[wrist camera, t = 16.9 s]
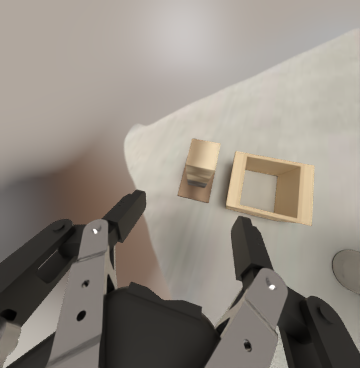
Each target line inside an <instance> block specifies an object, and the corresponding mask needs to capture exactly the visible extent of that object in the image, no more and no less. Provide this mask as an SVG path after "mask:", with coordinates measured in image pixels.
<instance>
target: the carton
mask: <svg viewBox="0 0 360 368" xmlns="http://www.w3.org/2000/svg"><path fill="white" fill-rule="evenodd" d="M245 170H250V171H255V172H260V173H265V174H270V175H275V176H278V178H277V187H276V197H275V206H274V213H272V212H268V211H263V210H259V209H255V208H251V207H247V206H242V205H239V204H240V198H241V192H242V185H243V179H244V173H245ZM313 186H314V166H313V165H308V164H302V163H297V162H291V161H286V160H280V159H275V158H270V157H264V156H259V155H253V154H248V153H243V152H237V151H236V152H235V157H234V162H233V168H232V173H231V179H230V184H229V190H228V195H227V201H226V209H230V210H234V211H238V212H242V213H246V214H251V215H255V216H259V217H263V218H267V219H271V220H275V221H283V222H293V223H301V224H305V225H309V226H312V207H313Z"/></svg>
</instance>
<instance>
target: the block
mask: <svg viewBox="0 0 360 368" xmlns="http://www.w3.org/2000/svg"><path fill="white" fill-rule="evenodd" d="M219 149H220V143H214V142H209V141H203V140H197V139H192V142H191V146H190V149H189V153H188V157H187V161H186V172H187V182H188V185H193V186H197V187H201V188H205V187H206V185H207V183H208V182H209V180H210V178H211V177H212V175H213V173H214V172H215V168H216V164H217V159H218V154H219Z"/></svg>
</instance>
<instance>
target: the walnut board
mask: <svg viewBox="0 0 360 368" xmlns="http://www.w3.org/2000/svg"><path fill="white" fill-rule="evenodd" d="M215 169H216V168H215ZM214 174H215V172H214V173H213V175H212V177H211V178H210V180H209V182H208V183H207V185H206V187H205V188H201V187H197V186H193V185H188V182H187V172H186V165H185V168H184V172H183V176H182V180H181V184H180V188H179V192H178V196H181V197H185V198H190V199H194V200H198V201H202V202H206V203H209V198H210V193H211V188H212V183H213V178H214Z"/></svg>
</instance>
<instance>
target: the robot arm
mask: <svg viewBox="0 0 360 368" xmlns="http://www.w3.org/2000/svg"><path fill="white" fill-rule="evenodd" d="M145 208H146V193H145V191H141V190H135V191H134V192H133V193H132V194H128V195H126V196H124V197H123V198H122V199H121V200H120V201H119V202H118V203H117V204H116V205H115V206H114V207H113V208H112V209H111V210H110V211H109V212H108V213H107V214H106V215H105V216H104V217H103V218H102V219H99V220H94V221H92V222H90V223H89V224H87V225H74V224H73V223H72V221H71V220H69V219H62V220H59V221H55V222H53V223H52V224H50V225H49V226H47V227H46V228H45V229H43V230H42V231H41V232H40V233H39V234H37V235H36V236H34V237H33V238H32V239H31V240H29V241H28V242H27V243H25V244H24V245H23V246H22V247H20V248H19V249H18V250H17V251H15V252H14V253H13V254H11V255H10V256H9V257H8V258H6V259H5V260H4V261H2V262H1V263H0V368H2V367H3V364H4V362H5V360H6V358H7V356H8V355H10V354H11V353H12V352H13V351H14V349H15V348H16V346H17V344H18V339H19V336H20V333H21V327H22V326H23V324H24V323H25V322H26V321H27V320H28V318H29V317H30V316H31V315H32V313H33V312H34V311H35V310H36V308H37V307H38V306H39V305H40V304H41V303H42V301H43V300H44V299H45V298H46V297H47V295H48V294H49V293H50V292H51V291H52V289H53V288H54V287H55V286H56V284H57V283H58V282H59V281H60V280H61V278H62V277H63V276H64V275H65V274H66V272H67V271H68V270H69V269H70V273H69V277H68V281H67V286H66V290H65V294H64V299H63V304H62V307H61V312H60V316H59V321H58V325H57V329H56V331H55V332H54V333H53V334H51V335H50V336H48V337H47V338H46V339H44V340H43V341H42V342H40V343H39V344H38V345H36V346H35V347H34V348H32V349H31V350H29V351H28V352H27V353H25V354H24V355H22V356H21V357H20V358H18V359H17V360H16V361H14V362H13V363H12V364H10V365H9V366H7V367H6V368H269V367H270V364H271V361H272V358H273V355H274V352H275V349H276V346H277V343H278V334H277V333H276V331H275V329H276V325H277V326H279V330H280V335H281V339H282V343H283V347H284V351H285V355H286V360H287V364H288V368H360V353H359V351H358V349H357V347H356V345H355V344H354V342H353V340H352V338H351V336H350V334H349V333H348V331H347V329H346V327H345V325H344V323H343V322H342V320H341V318H340V317H339V315H338V314H337V313H336V312H335V310H334V309H333V308H332V307H331V306H330V305H329V304H327V303H326V302H325V301H323V300H322V299H320V298H318V297H315V296H310V297H308V298H305V297H303V296H302V295H300V294H299V293H297V292H295V291H294V290H292V289H290V288H289V287H287V286H286V284H285V282H284V281H283V279H282V278H281V277H280V276H279V275H278V274H277V273H276V272H274V270H273V267H272V264H271V261H270V258H269V256H268V253H267V250H266V247H265V244H264V241H263V238H262V235H261V233H260V232H259V230H258V229H257V228H256V227H255V226H252V223H251V219H250V218H247V217H243V216H238V218H237V220H236V222H235V223H234V225H233V227H232V230H231V240H232V248H233V257H234V266H235V274H236V280H239V281H242V284H243V287H242V288H241V290H240V291H239V293H238V294H237V296H236V297H235V299H234V300H233V302H232V303H231V305H230V306H229V308H228V309H227V311H226V312H225V314H224V315H223V316H222V317H221V318H220V320H219V321H218V323H217V324H216V326H215V327H214V326H213V324H212V323H211V322H210V320H209V319H208V318H207V317H206V316H205V315H204V314H203V313H201V311H202V307H201V306H198V305H195V304H192V303H189V302H187V301H184V300H163V299H161V298H160V297H159V296H157V295H156V294H155V293H154V292H152V291H151V290H150V289H149V288H147V287H145V286H141V285H139V284H136V283H133V282H131V283H130V285H129V286H126V287H121V288H118V289H117V278H116V272H115V271H116V270H115V245H116V243H117V242H121V243H123V242H124V240H125V239H126V237H127V236H128V234H129V233H130V231H131V230H132V228H133V227H134V225H135V224H136V222H137V221H138V219H139V218H140V216H141V215H142V213H143V212H144V210H145ZM56 250H57V251H56ZM55 251H56V252H55ZM54 252H55V253H54ZM53 253H54V254H53ZM51 254H53V255H52V256H51ZM50 256H51V257H50ZM49 257H50V258H49ZM48 258H49V259H48ZM47 259H48V260H47ZM46 260H47V261H46ZM76 260H77V261H76ZM45 261H46V262H45ZM44 262H45V263H44ZM43 263H44V264H43ZM41 264H43V265H42V266H41ZM40 266H41V267H40ZM39 267H40V268H39ZM38 268H39V269H38ZM333 271H334V274H335V276H336V278H337V279H338V280H339V282H340V283H341V284H342V285H343V286H344V287H346V288H347V289H349V290H351V291H353V292H355V293H357V294H359V295H360V252H358V251H353V250H343V251H341V252H339V253H338V254H337V255H336V256H335V257H334V260H333Z"/></svg>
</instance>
